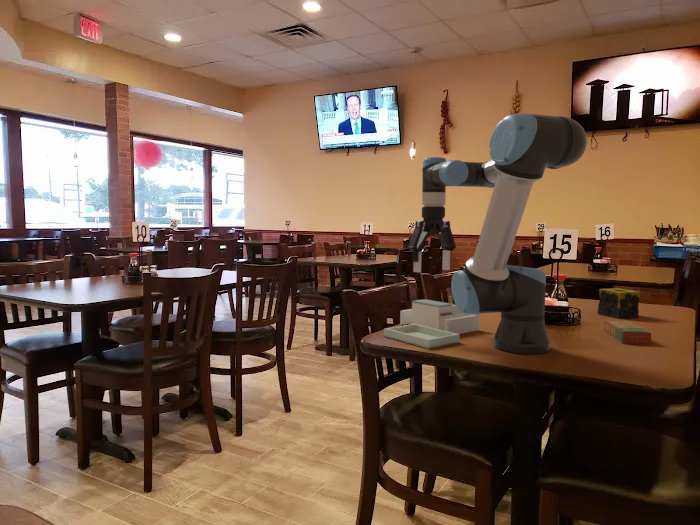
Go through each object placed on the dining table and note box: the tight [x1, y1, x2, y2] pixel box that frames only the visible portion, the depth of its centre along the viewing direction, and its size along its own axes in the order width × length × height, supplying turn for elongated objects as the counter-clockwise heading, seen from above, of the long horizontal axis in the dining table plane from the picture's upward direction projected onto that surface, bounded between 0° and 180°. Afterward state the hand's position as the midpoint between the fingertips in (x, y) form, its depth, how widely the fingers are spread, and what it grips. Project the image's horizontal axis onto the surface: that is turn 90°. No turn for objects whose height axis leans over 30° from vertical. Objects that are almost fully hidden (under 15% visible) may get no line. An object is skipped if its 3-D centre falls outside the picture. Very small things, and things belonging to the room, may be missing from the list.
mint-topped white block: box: [411, 299, 453, 331], centre depth 172 cm, size 13×6×9 cm, turn 38°
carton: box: [603, 320, 652, 346], centre depth 161 cm, size 8×16×4 cm, turn 172°
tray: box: [383, 324, 461, 350], centre depth 157 cm, size 19×13×2 cm
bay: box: [399, 303, 480, 335], centre depth 175 cm, size 21×15×7 cm
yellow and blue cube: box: [597, 287, 641, 320], centre depth 199 cm, size 10×10×10 cm
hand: (432, 271), depth 171 cm, fingers open, 13 cm apart
